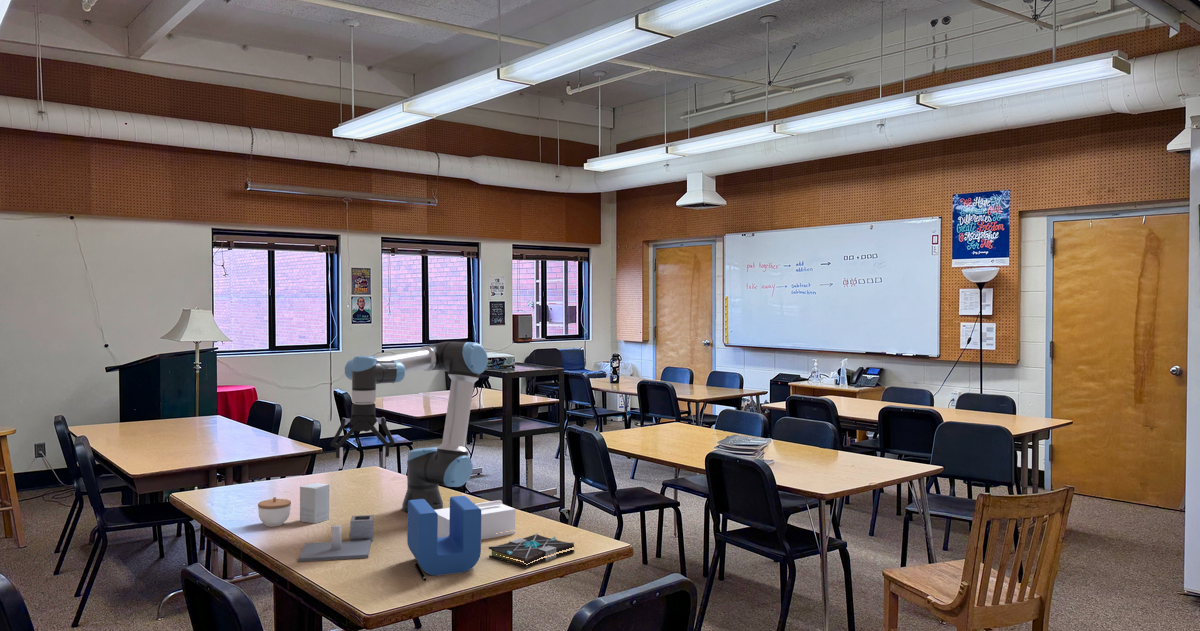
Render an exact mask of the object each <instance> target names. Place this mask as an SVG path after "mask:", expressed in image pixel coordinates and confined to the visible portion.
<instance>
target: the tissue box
mask: <svg viewBox="0 0 1200 631" xmlns="http://www.w3.org/2000/svg"><path fill="white" fill-rule="evenodd" d="M474 504H475V505H476V506H477V507H479V508H480V509H481V541H482V540H487V539H493V538H497V537H498V538H499V537H504V536H509V535H514V534H516V508H514V507H511V506H509V505H507V504H504V503H503V501H502V500H501V499H498V500H491V501H484V502H483V501H482V502H479V503H478V502H477V503H474ZM435 512H436V513H437V514H438V536H437V538H440V537H448V536H449V525H450V507H445V508H444V507H443V509H437V510H435ZM510 530H515V531H510ZM505 531H509V532H505ZM500 532H503V533H500ZM496 533H498V534H496Z"/></svg>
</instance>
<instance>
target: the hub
mask: <svg viewBox="0 0 1200 631" xmlns="http://www.w3.org/2000/svg"><path fill="white" fill-rule="evenodd" d="M349 523H350V527H349V533H350V534H349V541H360V540H371V543H373V541H374V534H375V533H374V532H375V530H374V528H375V516H374V514H364V515H361V514H359V515H352V516H351V518H350V522H349Z"/></svg>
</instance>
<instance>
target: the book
mask: <svg viewBox="0 0 1200 631" xmlns="http://www.w3.org/2000/svg"><path fill="white" fill-rule="evenodd" d="M572 547H574V548H575V542H574V541H573V542H567V541H562V540H557V538H556V536H553V537H552V538H549V537H547V536H543V535H539V534H538V532H536V533H535V534H533V535H530V536H526V537H523V538H522V537H519V538H515V539H512V540H509V542H507V543H504V544H499V545H495V546H494V545H492V546H488V550H491V555H490V554H489V555H488V557H489V558H493V559H496V560H500V561H504V562H507V563H510V564H513V565H516V566H518V567H521V568H524V569H525V570H526V569H527V568H529V567H531V566H532V567H533V565H537V564H539V563H542V562H543V563H544V562H548V561H552V560H554V559H557V558H558V557H562V556H564V555H568V554H570V553H572V554H573V553H575V549H574V550H570V551H567V552H563V553H559V554H556V555H554V556H551V557H547V558H543V559H540V560H538V561H535V562H533V563H530V562H532V561H534V560H537V559H539V558H541V557H544V556H548V555H551V554H554V553H556V552H559V551H562V550H566V549H569V548H572ZM496 554H497V555H496ZM500 555H501V556H500ZM503 556H505V557H503ZM506 557H509V558H506ZM510 558H513V559H518V560H521V561H524V563H526V564H528V563H530V564H528V565H526V564H524V563H523V562H520V561H516V560H513V559H510Z"/></svg>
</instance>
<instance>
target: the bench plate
mask: <svg viewBox="0 0 1200 631" xmlns="http://www.w3.org/2000/svg"><path fill="white" fill-rule="evenodd" d="M330 529H331V530H330V541H324V542H323V541H322V542H305V543H304V546H303V547H302V550H301V551H300V555H299V557H298V558H297V561H298V563H299V562H301V563H302V562H319V561H321V562H322V561H333V560H334V561H336V560H353V559H368V558H369V555H370V549H371V544H372V542H371V540H360V541H350V540H344V541H343V540H342V525H341V524H335V525H331V527H330Z"/></svg>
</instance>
